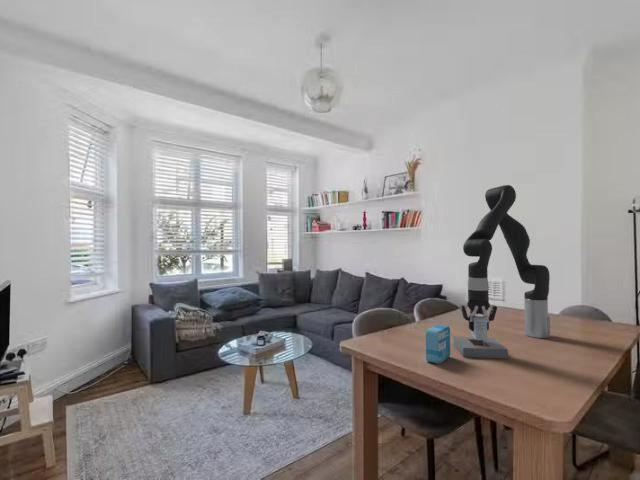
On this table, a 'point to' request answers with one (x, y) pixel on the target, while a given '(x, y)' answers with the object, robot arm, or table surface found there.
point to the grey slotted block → (480, 348)
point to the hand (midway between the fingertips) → (478, 330)
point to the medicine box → (480, 328)
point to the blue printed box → (437, 344)
